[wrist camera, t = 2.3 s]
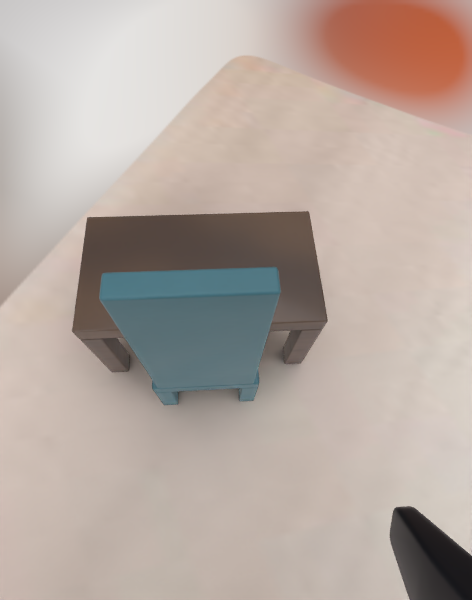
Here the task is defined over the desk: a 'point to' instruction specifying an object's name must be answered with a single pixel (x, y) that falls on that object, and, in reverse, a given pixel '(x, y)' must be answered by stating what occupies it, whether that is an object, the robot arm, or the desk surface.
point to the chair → (195, 325)
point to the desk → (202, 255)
